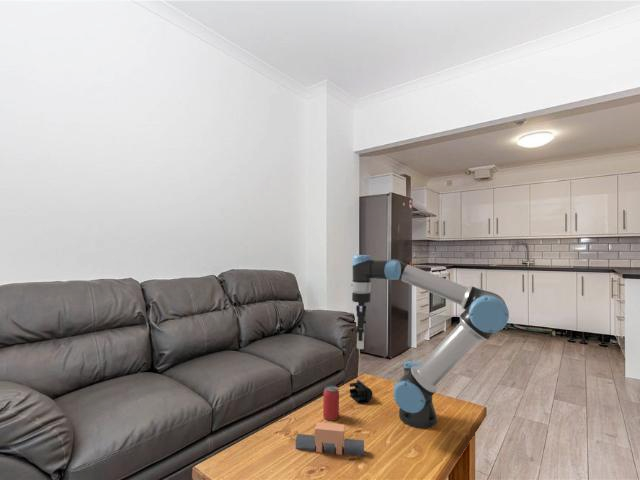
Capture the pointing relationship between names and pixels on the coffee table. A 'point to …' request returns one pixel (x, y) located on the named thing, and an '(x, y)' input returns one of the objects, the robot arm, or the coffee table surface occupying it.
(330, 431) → the salmon pink bridge block
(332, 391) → the beer can
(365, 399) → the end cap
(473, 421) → the coffee table surface
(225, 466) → the coffee table surface
